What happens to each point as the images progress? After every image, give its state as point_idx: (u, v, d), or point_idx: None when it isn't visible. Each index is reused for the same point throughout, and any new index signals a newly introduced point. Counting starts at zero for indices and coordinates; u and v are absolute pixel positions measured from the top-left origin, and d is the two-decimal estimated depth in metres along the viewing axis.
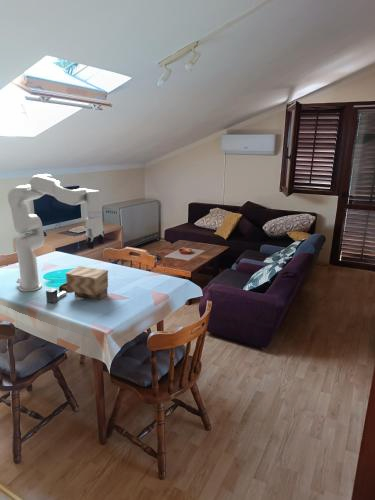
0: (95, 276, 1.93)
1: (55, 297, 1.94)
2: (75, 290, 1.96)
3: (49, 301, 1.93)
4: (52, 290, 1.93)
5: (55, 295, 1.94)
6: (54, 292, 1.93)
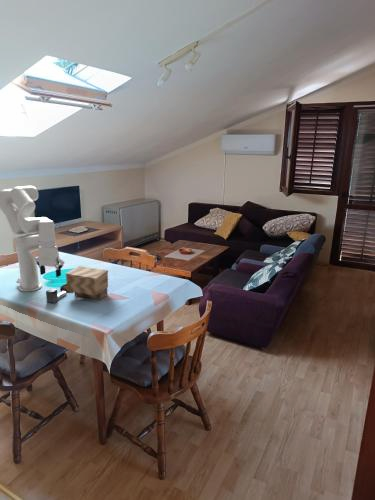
0: (95, 276, 1.93)
1: (55, 297, 1.94)
2: (75, 290, 1.96)
3: (49, 301, 1.93)
4: (52, 290, 1.93)
5: (55, 295, 1.94)
6: (54, 292, 1.93)
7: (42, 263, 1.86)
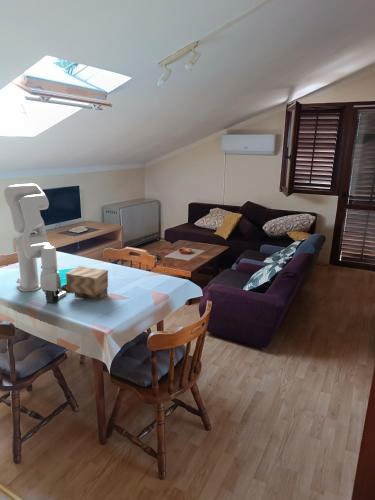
0: (95, 276, 1.93)
1: None
2: (75, 290, 1.96)
3: (49, 301, 1.93)
4: None
5: None
6: None
7: (44, 288, 1.90)
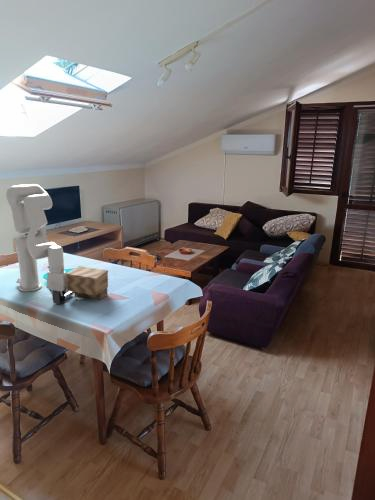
0: (95, 276, 1.93)
1: None
2: (75, 290, 1.96)
3: (56, 301, 1.92)
4: None
5: None
6: None
7: (51, 287, 1.89)
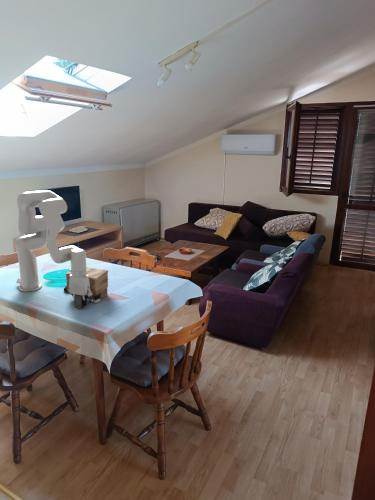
0: (95, 276, 1.93)
1: None
2: None
3: (78, 305, 1.88)
4: None
5: None
6: None
7: (73, 291, 1.85)
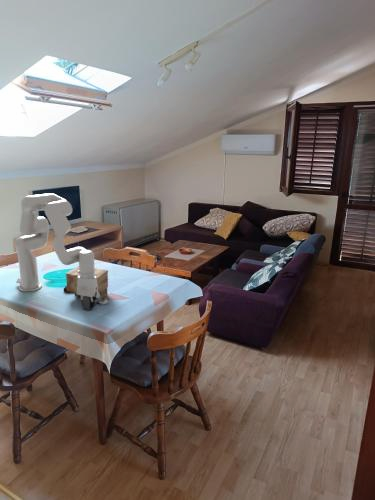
0: (95, 276, 1.93)
1: None
2: (75, 290, 1.96)
3: (85, 307, 1.87)
4: None
5: None
6: None
7: (81, 293, 1.84)
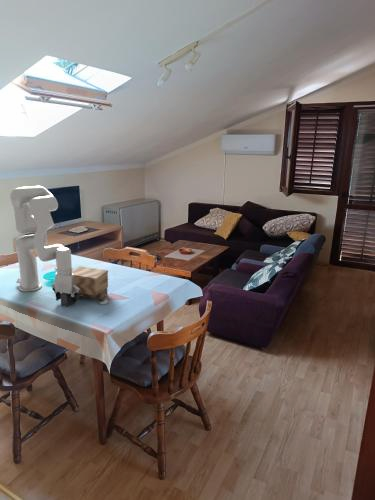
0: (95, 276, 1.93)
1: (69, 300, 1.91)
2: (75, 290, 1.96)
3: (63, 304, 1.91)
4: (66, 293, 1.90)
5: (69, 298, 1.91)
6: (68, 295, 1.90)
7: (59, 290, 1.88)
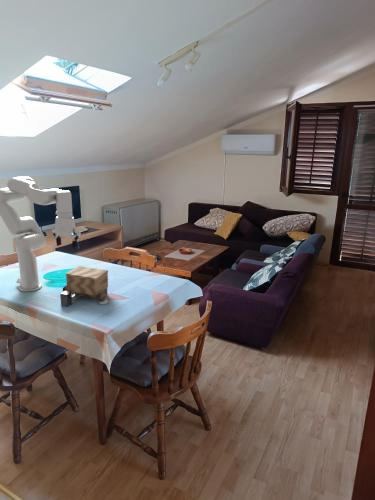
0: (95, 276, 1.93)
1: (69, 300, 1.91)
2: (75, 290, 1.96)
3: (63, 304, 1.91)
4: (66, 293, 1.90)
5: (69, 298, 1.91)
6: (68, 295, 1.90)
7: (59, 233, 1.87)
